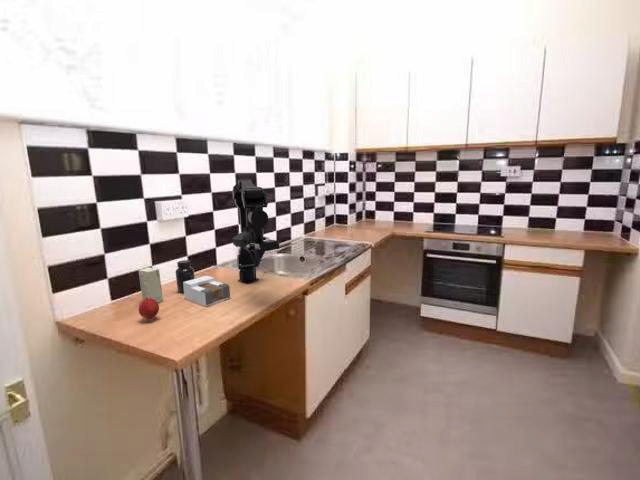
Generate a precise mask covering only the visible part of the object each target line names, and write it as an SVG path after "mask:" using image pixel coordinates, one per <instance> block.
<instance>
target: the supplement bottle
mask: <svg viewBox="0 0 640 480" xmlns="http://www.w3.org/2000/svg"><path fill="white" fill-rule="evenodd" d="M176 263H177V268H176V269H175V280H176V287H177V289H176V290H177V292H178V293H180V294H184V287H183V282H185V281H189V280H193V279H196V277H195V276H196V275H195V268H194V267H192V266H191V265H192V264H191V260H189V259H184V260H179V261H177V262H176Z"/></svg>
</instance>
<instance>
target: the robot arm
mask: <svg viewBox="0 0 640 480" xmlns="http://www.w3.org/2000/svg"><path fill="white" fill-rule="evenodd" d="M237 181H238V182H237V183H236V184H234V185H233V187H232V200H233V201H234V204H235V206H236V208H237V209H238V213H239V225H240V227H239V228H240V232H239V233H238V234H236V235H235V236H233V237H232V244H233V246H235V247H236V248H239V249H238V254H237V256H236V267H237V269H238V270H239V272H238V273H239V275H238V277H239V279H237V281H238V282H240V283H244V284H251V283H253V282H257V281H259V279H260V278H258V277H257V268H259V266H260V263H261V262H262V258H263V257H264V254H265V253H266V252H270V251H274V250H278V249H280V241H278V240H276V239H267V237H266V236H264V230H265V229H266V226H267V224H268V222H269V216H268V214H267V212H266V211H265V210H264V208H268V204H269V201H268V196H267V194H266V191H265V190H264V189H263V188H262V186H255V184H254V183H253V180H252V179H250V178H240V179H238V180H237Z"/></svg>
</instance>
